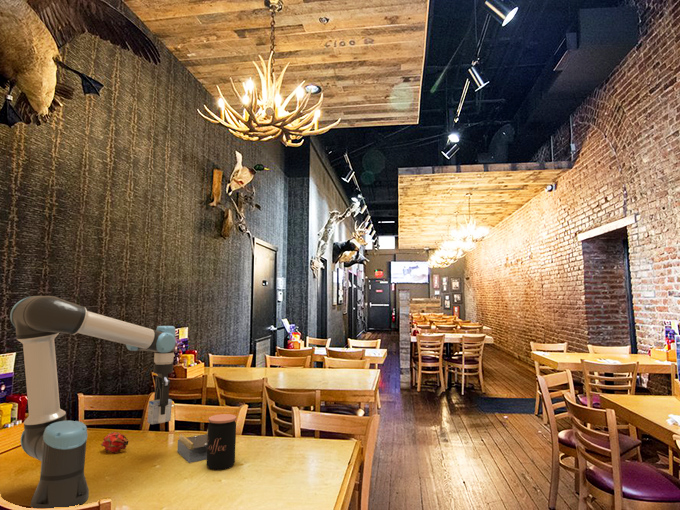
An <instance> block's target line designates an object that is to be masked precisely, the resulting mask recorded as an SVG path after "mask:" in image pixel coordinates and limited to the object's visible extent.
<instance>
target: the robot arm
mask: <svg viewBox="0 0 680 510" xmlns="http://www.w3.org/2000/svg"><path fill="white" fill-rule="evenodd" d="M9 319H10V323H11V324H12V326H13V327H14V328H15V333H16V334H15V335H16V341H18V342H20V343H21V344H22V349H23V360H24V372H25V384H26V385H25V386H26V395H27V396H26V397H27V406H28V416H27V418H25V419H24V421H23V431H22V433H21V436H20V445H21V448H22V450H23V451H24V453H25V454H27V455H28V456H29V457H32V458H33V459H36V460H38V461H40V463H41V464H40V476H39V481H38V484H37V487H36V488H35V491H34V493H33V495H32V498H31V500H30V507H33V508H54V507H69V506H75V505H78V504H81V505H83V504H84V503H86V502H87V500H88V499H89V492H90V489H89V486H88V482H87V478H86V475H85V463H86V451H87V441H88V440H87V439H88V428H87V427H88V426H87V424H85V423H84V422H82V421H79V420H75V421H74V420H67V413H66V411H65V410H64V409H61V406H60V394H59V393H60V391H59V390H60V389H59V382H58V381H59V379H58V370H57V369H58V367H57V356H56V344H55V339H56V337H57V336H59V334H60V333H61V334H65V335H71V336H74V335H76V334H81V335H85V336H89V337H94V338H98V339H102V340H105V341H110V342H114V343H118V344H123V345H125V347H126V349H127V350H128V351H133V352H134V351H135V352H138V351H145V352H154V357H153V363H154V364H153V371H152V372H153V374H155V375H157V376H155V385H154V398H153V400H159V399H160V405H158V407H159V412H158V423H157V424H163V423H166V422H165V418H166V406H167V405H168V399H170V385H171V380H170V378H169V374H172V373H173V372H174V360H175V359H174V357H176V355H175V346H176V344H177V343H176V342H177V340H176V327H175V326H173V325H158V326H157V327H156V329H152V328H150V327H149V328H148V327H146V326H141V325H138V324H135V323H131V322H128V321H123V320H121V319H118V318H117V319H116V318H115V317H110V316H106V315H102V314H99V313H96V312H93V311H89V310H88V309H87V307H86V306H83V305H79V304H76V303H74V302H72V301H68V300H65V299H63V298H60V297H57V296H53V295H33V296H28V297H26V298H25V297H24V298H22V299H21V300H19V301H17V302H15V304H14V305H13V307H12V309H11V310H10V314H9Z"/></svg>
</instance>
